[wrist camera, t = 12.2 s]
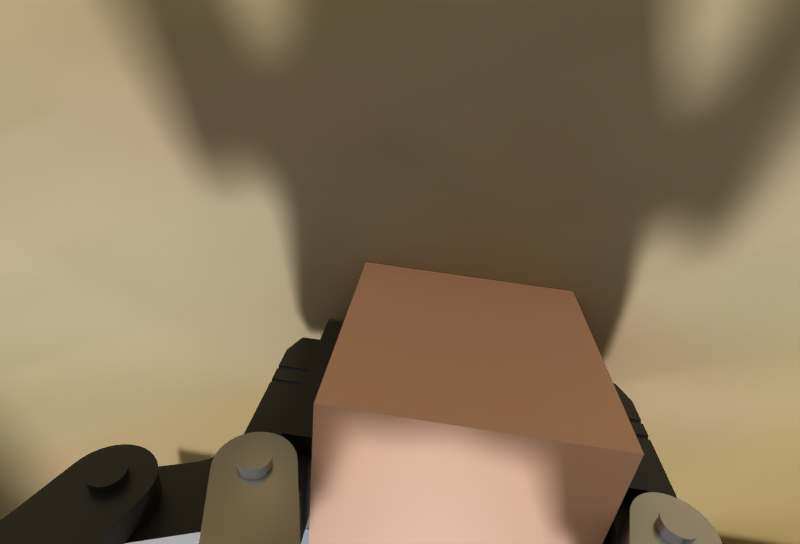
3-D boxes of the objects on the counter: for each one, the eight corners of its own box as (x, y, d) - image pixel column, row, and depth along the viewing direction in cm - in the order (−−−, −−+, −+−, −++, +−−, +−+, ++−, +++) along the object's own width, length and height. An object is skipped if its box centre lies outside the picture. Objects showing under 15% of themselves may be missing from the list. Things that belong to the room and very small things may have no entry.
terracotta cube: (573, 291, 11) (644, 454, 7) (526, 443, 13) (558, 637, 9) (365, 261, 11) (313, 403, 7) (352, 416, 13) (306, 594, 9)
